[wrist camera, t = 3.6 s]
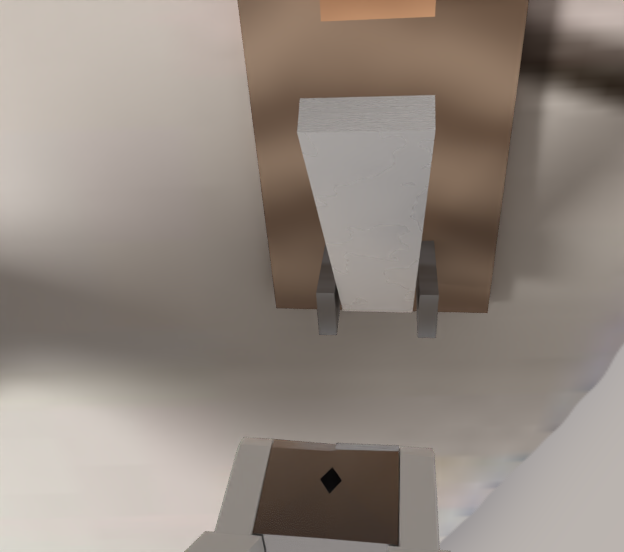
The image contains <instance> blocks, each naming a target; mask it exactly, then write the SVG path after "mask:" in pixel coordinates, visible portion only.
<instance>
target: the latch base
mask: <svg viewBox="0 0 624 552" xmlns="http://www.w3.org/2000/svg"><path fill="white" fill-rule="evenodd" d="M528 2H529V0H238V8H239V16H240V24H241V32H242V40H243V48H244V56H245V64H246V71H247V79H248V87H249V95H250V103H251V111H252V119H253V127H254V135H255V143H256V150H257V158H258V166H259V174H260V182H261V190H262V198H263V206H264V214H265V222H266V229H267V237H268V245H269V253H270V261H271V269H272V277H273V285H274V293H275V300H276V308H293V309H317V311H318V325H319V335H337V328H338V320H339V312H340V310H343V309H342V305H341V301H340V297H339V294H338V290H337V286H336V282H335V278H334V274H333V270H332V266H331V262H330V259H329V255H328V251H327V247H326V243H325V239H324V235H323V231H322V227H321V224H320V220H319V216H318V212H317V208H316V204H315V200H314V196H313V192H312V189H311V185H310V181H309V177H308V173H307V169H306V165H305V161H304V158H303V154H302V150H301V146H300V142H299V138H298V134H297V128H298V115H299V103H300V98H338V97H377V96H417V95H435V138H434V146H433V154H432V162H431V170H430V178H429V186H428V193H427V201H426V209H425V217H424V225H423V233H422V241H421V249H420V256H419V264H418V272H417V280H416V288H415V296H414V304H413V311H417V330H418V337H420V338H436V328H437V314H438V312H469V313H487V312H488V304H489V297H490V289H491V282H492V274H493V267H494V259H495V251H496V244H497V236H498V229H499V221H500V214H501V206H502V199H503V191H504V183H505V176H506V168H507V161H508V153H509V146H510V138H511V131H512V123H513V115H514V108H515V100H516V93H517V85H518V78H519V70H520V63H521V55H522V47H523V40H524V32H525V25H526V17H527V10H528Z"/></svg>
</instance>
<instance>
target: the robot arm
mask: <svg viewBox="0 0 624 552" xmlns="http://www.w3.org/2000/svg"><path fill="white" fill-rule="evenodd" d="M184 552H450V551H445V550H440V545H439V526H438V507H437V488H436V469H435V454H434V451H433V449H432V448H418V447H400V449H399V446H394V445H371V444H347V443H336V444H326V443H314V442H302V441H290V440H278V439H264V438H249V437H243V439H242V441H241V442H240V444H239V446H238V449H237V452H236V456H235V459H234V463H233V467H232V470H231V474H230V477H229V481H228V485H227V488H226V492H225V495H224V499H223V502H222V506H221V510H220V513H219V517H218V520H217V524H216V528H215V531H214V532H209V531H205V532H204V533H203V534H202V535H201V536H200V537H199V538H198V539H197V540H196V541H195V542H194V543H193V544H192V545H191V546H190V547H189V548H188V549H186V550H185V551H184Z"/></svg>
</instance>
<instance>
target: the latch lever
mask: <svg viewBox="0 0 624 552" xmlns="http://www.w3.org/2000/svg"><path fill="white" fill-rule="evenodd" d="M297 134H298V138H299V142H300V146H301V150H302V154H303V158H304V161H305V165H306V169H307V173H308V177H309V181H310V185H311V189H312V192H313V196H314V200H315V204H316V208H317V212H318V216H319V220H320V224H321V227H322V231H323V235H324V239H325V243H326V247H327V251H328V255H329V259H330V262H331V266H332V270H333V274H334V278H335V282H336V286H337V290H338V294H339V297H340V301H341V305H342V309H343V311H365V312H409V313H412V312H413V304H414V296H415V288H416V280H417V272H418V264H419V256H420V249H421V241H422V233H423V225H424V217H425V209H426V201H427V193H428V186H429V178H430V170H431V162H432V154H433V146H434V138H435V95H417V96H377V97H338V98H300V103H299V115H298V128H297Z"/></svg>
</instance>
